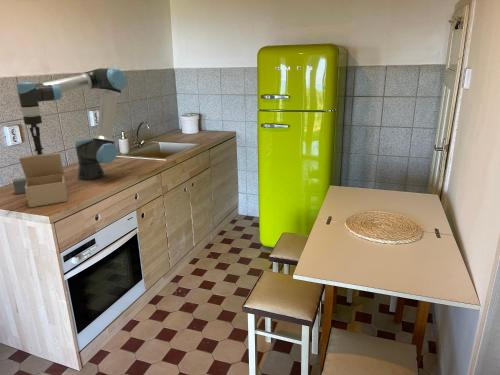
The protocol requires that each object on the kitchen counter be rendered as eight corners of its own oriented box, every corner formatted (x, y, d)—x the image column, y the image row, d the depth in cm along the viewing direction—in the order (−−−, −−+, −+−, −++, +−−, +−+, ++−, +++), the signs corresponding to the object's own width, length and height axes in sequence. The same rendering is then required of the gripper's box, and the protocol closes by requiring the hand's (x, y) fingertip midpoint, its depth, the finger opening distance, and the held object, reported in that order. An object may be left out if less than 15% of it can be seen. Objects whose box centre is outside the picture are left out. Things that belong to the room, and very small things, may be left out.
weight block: (33, 189, 208) (30, 177, 205) (32, 191, 203) (30, 179, 201) (16, 191, 204) (13, 179, 202) (15, 194, 200) (12, 181, 198)
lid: (63, 173, 198) (63, 172, 199) (59, 154, 185) (59, 152, 186) (26, 178, 191) (25, 177, 191) (19, 158, 178) (19, 157, 178)
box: (66, 191, 201) (63, 174, 198) (68, 201, 188) (64, 182, 185) (30, 197, 194) (26, 179, 191) (29, 207, 181) (24, 187, 177)
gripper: (23, 114, 184) (33, 160, 192) (22, 117, 173) (32, 167, 181) (41, 113, 187) (50, 159, 195) (40, 116, 176) (50, 164, 184)
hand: (41, 162), depth 188 cm, fingers closed
